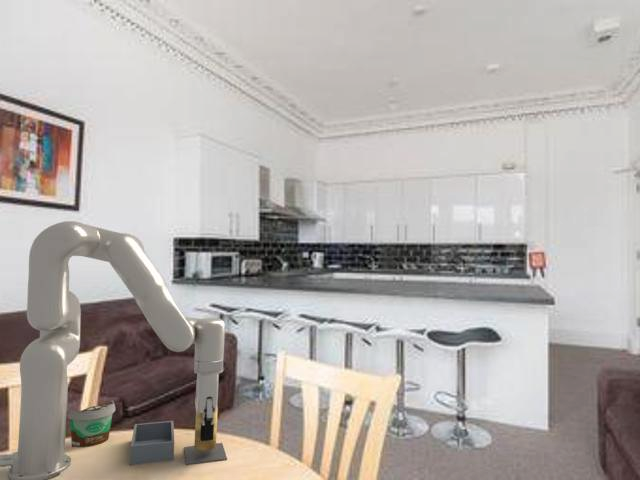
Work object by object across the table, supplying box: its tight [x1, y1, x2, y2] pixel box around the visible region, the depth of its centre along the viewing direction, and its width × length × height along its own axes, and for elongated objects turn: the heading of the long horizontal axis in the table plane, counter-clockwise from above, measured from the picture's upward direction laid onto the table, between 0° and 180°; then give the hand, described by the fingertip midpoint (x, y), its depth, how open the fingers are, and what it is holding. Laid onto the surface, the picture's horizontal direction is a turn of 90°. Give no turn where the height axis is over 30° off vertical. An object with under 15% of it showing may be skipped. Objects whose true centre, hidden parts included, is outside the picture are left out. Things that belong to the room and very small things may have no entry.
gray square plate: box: [184, 442, 228, 466], centre depth 113 cm, size 10×10×1 cm
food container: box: [67, 399, 116, 448], centre depth 118 cm, size 12×6×10 cm, turn 143°
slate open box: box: [129, 420, 175, 466], centre depth 114 cm, size 10×15×5 cm
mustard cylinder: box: [193, 405, 219, 451], centre depth 113 cm, size 6×6×10 cm
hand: (205, 434), depth 113 cm, fingers closed on mustard cylinder, 5 cm apart
